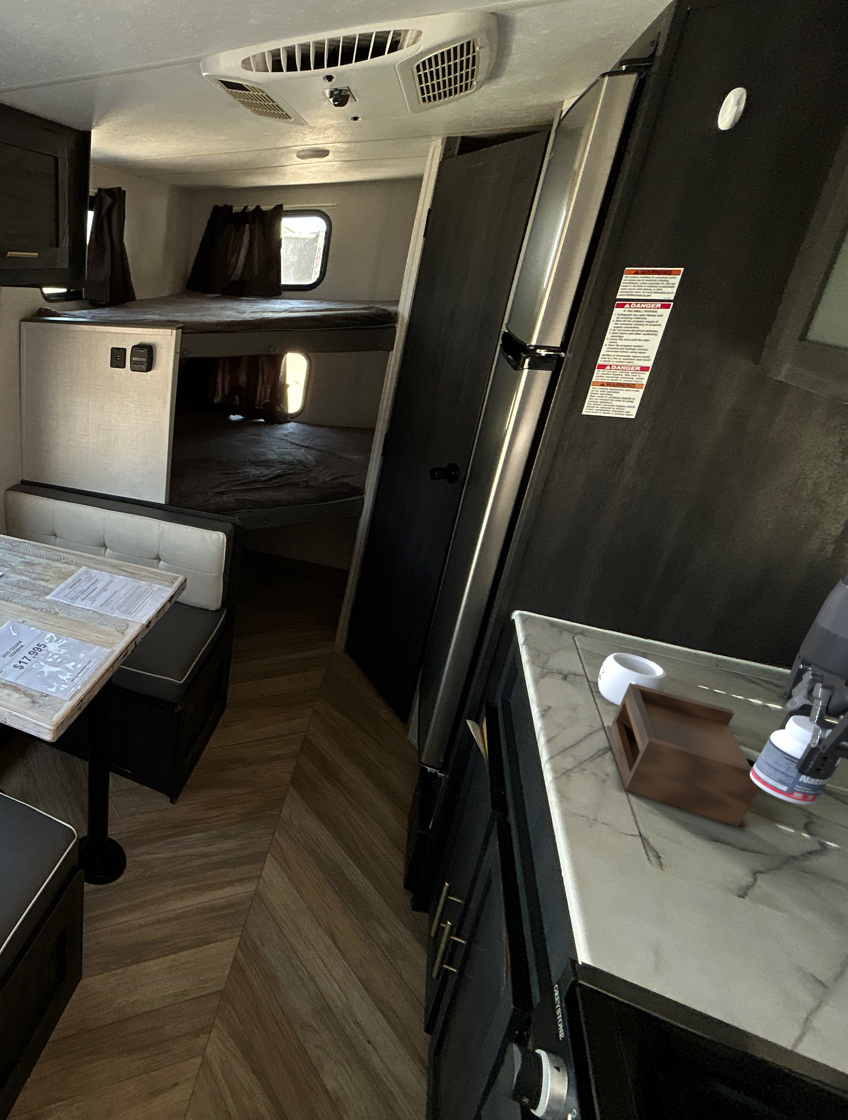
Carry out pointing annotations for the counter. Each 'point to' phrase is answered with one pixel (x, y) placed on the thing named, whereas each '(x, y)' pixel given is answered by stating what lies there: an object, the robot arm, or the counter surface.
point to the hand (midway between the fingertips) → (798, 757)
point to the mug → (628, 675)
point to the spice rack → (682, 754)
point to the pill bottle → (788, 764)
